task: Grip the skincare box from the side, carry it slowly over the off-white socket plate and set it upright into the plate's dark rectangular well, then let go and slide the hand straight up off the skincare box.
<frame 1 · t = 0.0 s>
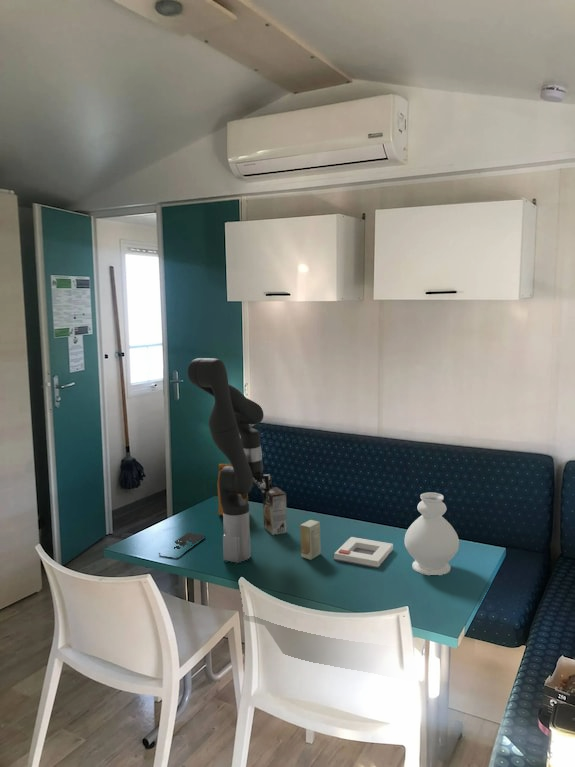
hand: (254, 499, 236), 17 cm above the table, tool pointing down, fingers open, 8 cm apart
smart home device: (182, 548, 238), on the table
decorative vase: (431, 567, 215), on the table
coffee package: (234, 515, 269), on the table
coffee box: (275, 530, 252), on the table
skincare box: (310, 556, 227), on the table
socket plate: (364, 555, 226), on the table
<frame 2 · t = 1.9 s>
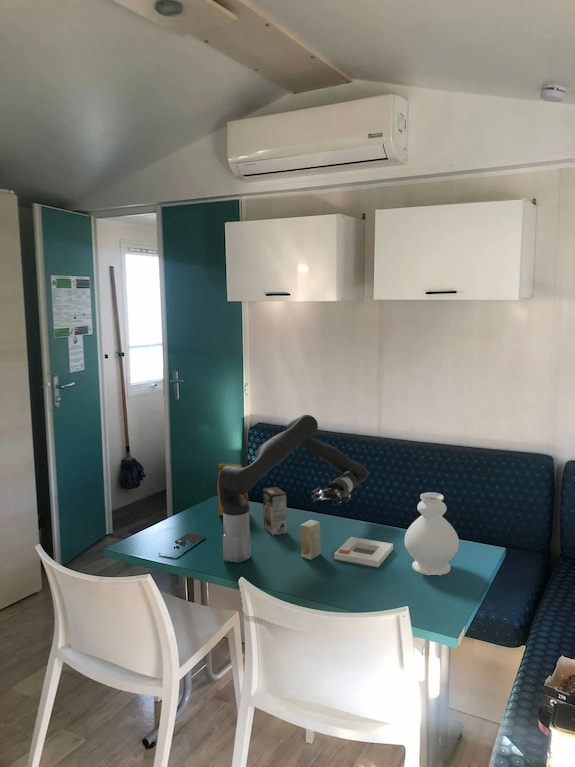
hand: (323, 501, 234), 16 cm above the table, tool horizontal, fingers open, 8 cm apart
nothing on the table moved.
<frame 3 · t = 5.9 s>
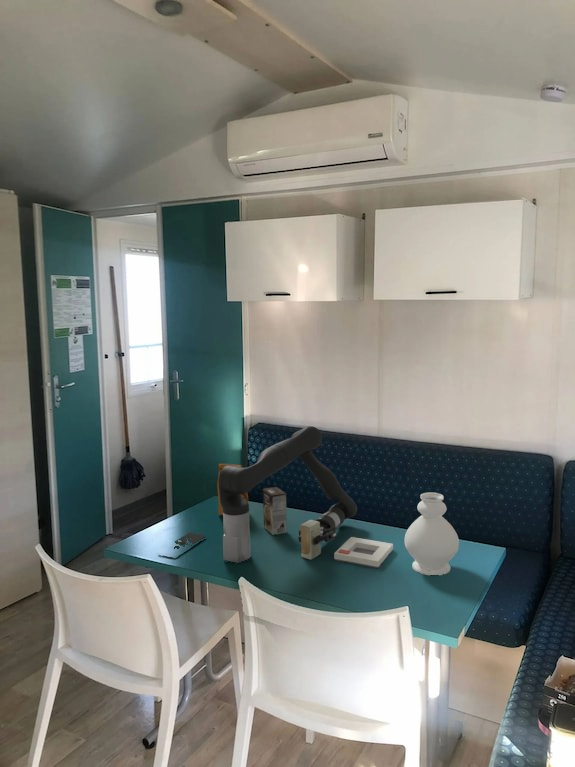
hand: (307, 540, 224), 7 cm above the table, tool horizontal, fingers closed on skincare box, 5 cm apart
skincare box: (310, 556, 227), on the table, touching gripper
everything else where it was.
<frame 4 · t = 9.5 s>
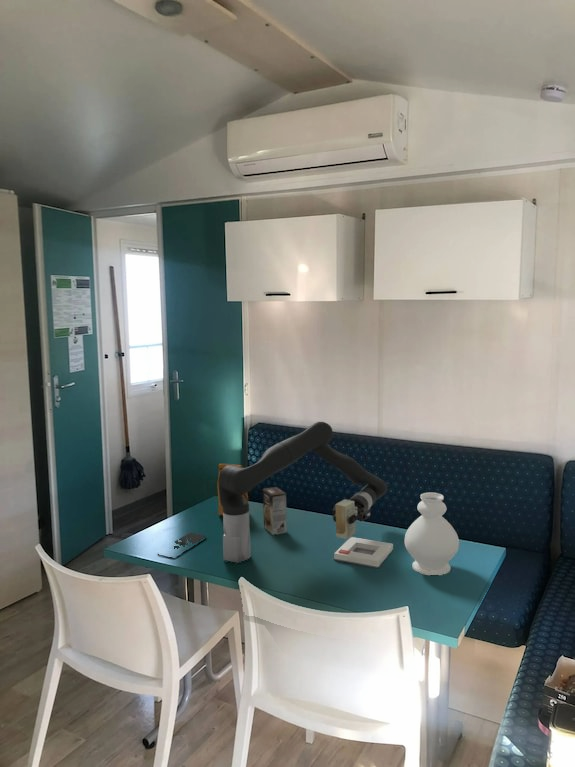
hand: (342, 520, 222), 14 cm above the table, tool horizontal, fingers closed on skincare box, 5 cm apart
skincare box: (345, 535, 226), point 7 cm above the table, touching gripper
everything else where it was.
when the fingers open (8 cm above the table, at t = 13.1 s): skincare box stays where it is, resting on socket plate.
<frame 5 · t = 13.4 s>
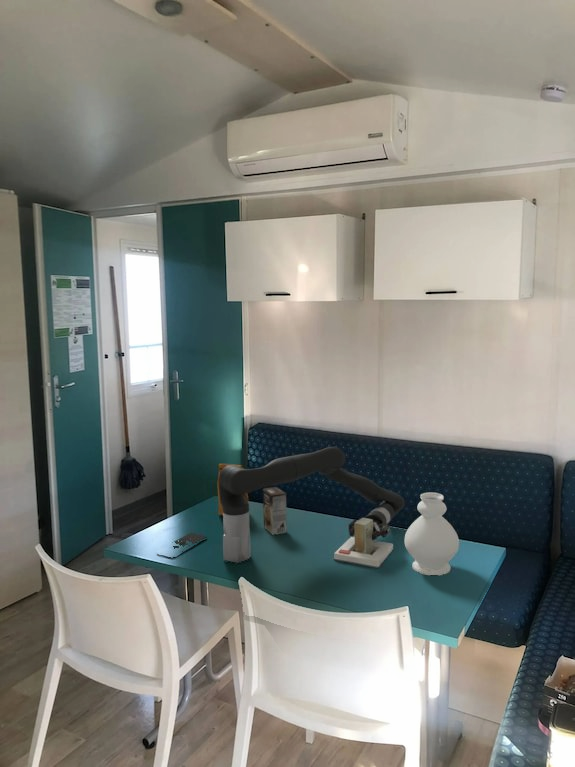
hand: (361, 535, 223), 8 cm above the table, tool horizontal, fingers open, 7 cm apart
skincare box: (363, 554, 226), resting on socket plate
everything else where it was.
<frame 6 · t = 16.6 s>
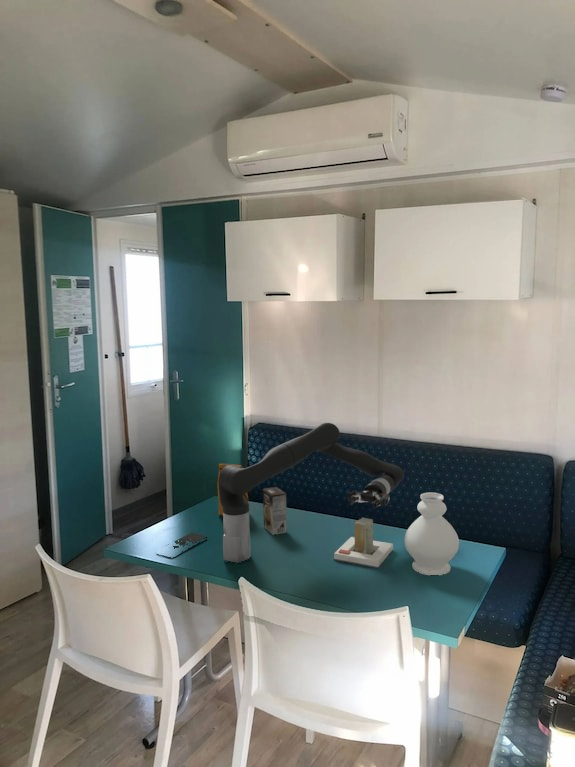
hand: (361, 504, 222), 19 cm above the table, tool horizontal, fingers open, 8 cm apart
nothing on the table moved.
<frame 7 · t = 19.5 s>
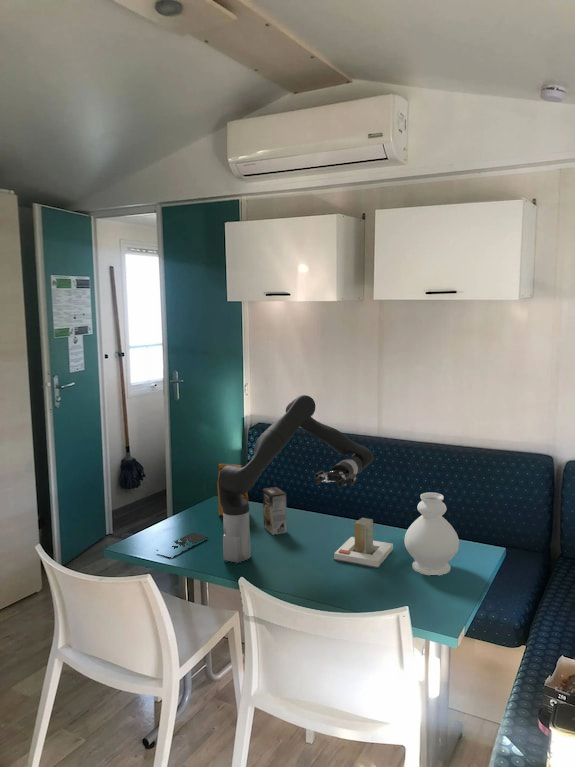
hand: (327, 483, 224), 26 cm above the table, tool horizontal, fingers open, 8 cm apart
at the end: skincare box 0.0 cm off-centre on the socket plate, point 0.3 cm above the socket plate's base; skincare box tilted 0°; the gripper is holding nothing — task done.
